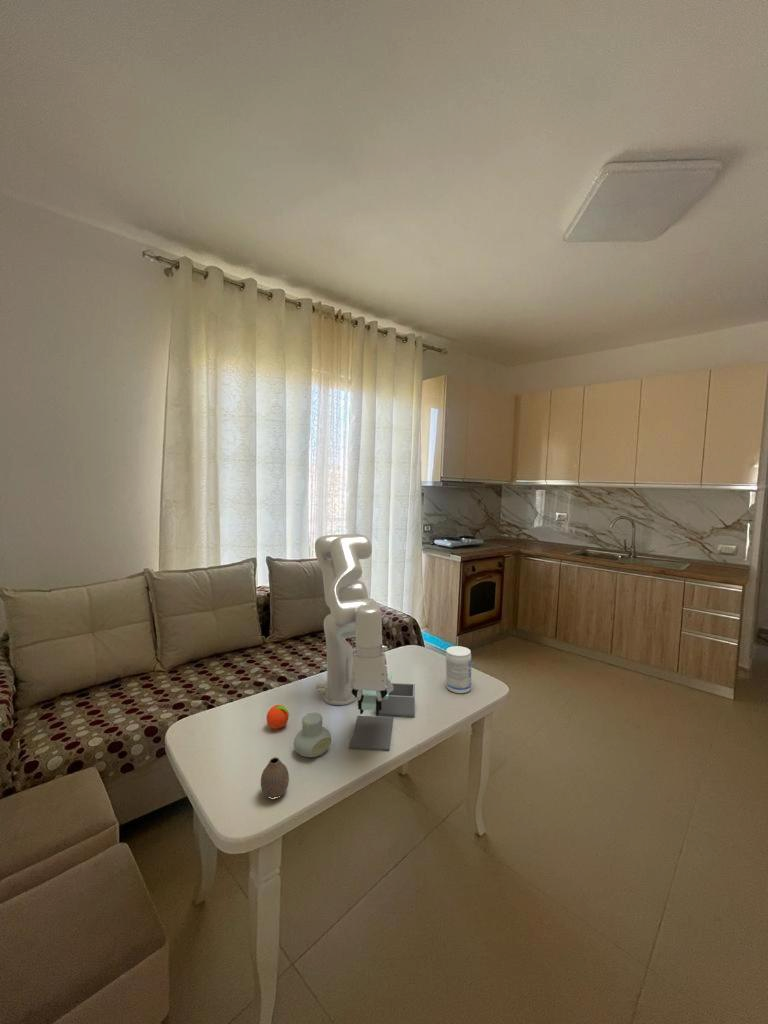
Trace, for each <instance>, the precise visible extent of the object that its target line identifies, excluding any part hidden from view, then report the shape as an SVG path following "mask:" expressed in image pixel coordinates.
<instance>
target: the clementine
mask: <svg viewBox="0 0 768 1024" xmlns="http://www.w3.org/2000/svg"><path fill="white" fill-rule="evenodd" d="M289 716H291V714H290V712H289V710H288V708H286V707H285V706H284V705H282V704H275V705H274V706H272V707H270V709H269V710H268V711H267V714H266V723H267V725H268V726H269V727H270V728H272V729H274V730H278V729H279V730H280V729H281V728H284V726H285V725H286V724H287V723H288V721H289Z"/></svg>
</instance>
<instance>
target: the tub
mask: <svg viewBox="0 0 768 1024" xmlns="http://www.w3.org/2000/svg"><path fill="white" fill-rule="evenodd" d="M391 683H392V685H393V686H394V689H393V691H391V692H390V693H389V696H388V700H386V699H382V709H381V710H379V715H377V714H376V713H375V716H376V717H393V718H395V717H399V718H415V712H416V710H415V709H416V683H404V682H403V683H402V682H399V683H397V682H391Z"/></svg>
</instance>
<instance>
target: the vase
mask: <svg viewBox="0 0 768 1024" xmlns="http://www.w3.org/2000/svg"><path fill="white" fill-rule="evenodd" d="M289 782H290V773H289V770H288V768H287V766H286V764H284V763H283V762H282V761H281V760H280V758H279V757H275V756H274V757H272V758H270V759H269V761H268V764H267V765H266V766H265V768H264V769H263V771H262V772H261V776H260V788H261V791H262V794H263V796H264V797H266V796H267V797H271V798H274V797H279V796H281V795H282V794H283V795H284V794H285V793H286V791H287V789H288V787H289V784H290V783H289ZM283 795H282V796H283ZM282 796H281V797H282ZM267 797H266V798H267ZM279 798H280V797H279Z"/></svg>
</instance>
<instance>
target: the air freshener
mask: <svg viewBox="0 0 768 1024" xmlns="http://www.w3.org/2000/svg"><path fill="white" fill-rule="evenodd" d="M301 722H302V723H301V725H302V726H301V729H300V730H299V731H298V732H297V733H296V734H295V737H294V739H293V747H294V749H295V751H296V753H298V755H300V756H302V757H306V758H315V757H318V756H322V754H324V753H325V752H326V751H327V750H328V749H329V747H330V746H331V744H332V734H331V732H330V730H329V729H328V728H327V727H324V726H323V716H322V714H321V713H319V712H309V713H306V714H305V715H304V716H303V717H302V718H301Z"/></svg>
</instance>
